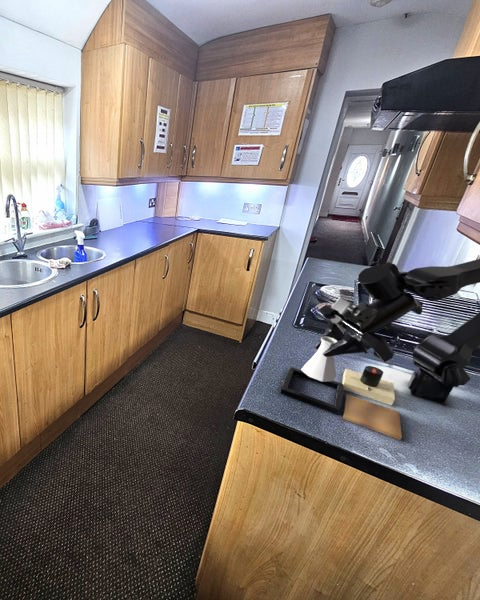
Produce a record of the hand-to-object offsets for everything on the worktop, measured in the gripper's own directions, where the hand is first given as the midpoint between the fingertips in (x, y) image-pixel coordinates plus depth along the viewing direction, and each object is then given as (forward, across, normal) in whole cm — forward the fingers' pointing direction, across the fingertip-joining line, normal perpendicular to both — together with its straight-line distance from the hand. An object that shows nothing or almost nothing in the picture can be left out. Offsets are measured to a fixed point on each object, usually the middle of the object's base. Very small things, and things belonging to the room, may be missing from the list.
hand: (319, 351), depth 80 cm
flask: (+4, 0, +6) cm, 7 cm away
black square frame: (+8, 0, +9) cm, 12 cm away
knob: (-4, -2, +18) cm, 19 cm away
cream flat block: (-3, -2, +20) cm, 20 cm away
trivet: (+2, +9, +15) cm, 18 cm away
